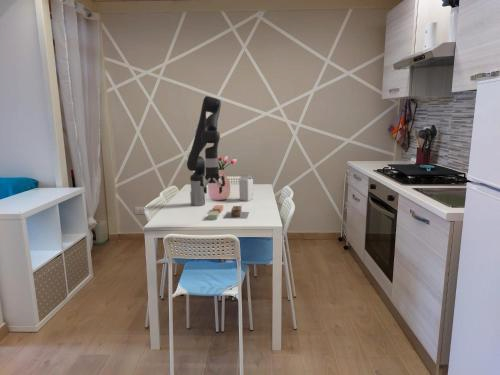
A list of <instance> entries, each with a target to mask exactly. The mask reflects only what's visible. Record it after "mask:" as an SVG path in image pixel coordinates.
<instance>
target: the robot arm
mask: <svg viewBox="0 0 500 375" xmlns="http://www.w3.org/2000/svg"><path fill="white" fill-rule="evenodd" d="M221 106H222V102H221V100H220V99H219V98H217V97H212V96H208V95H205V96H204V98H203V100H202V106H201V111H200V114H199V120H198V123H197V128H196V131H195V135H194V137H193V138H194V139H193V143H192V147H191V150H190V152H189V155H188V158H187V161H186V168H187V169H188V170H189V171H191V172H193V174H192V175H190V178H189V179H190V192H189V193H190V197H189V198H190V205H191V206H195V207H199V206H205V205H206V194H207V193H208V188H207V186H208V184H216V185H217V186H218V189H219V190H218V191H219V192H218V194H222V192H223V188H224V187H225V186H226V181H225V177H226V176H225V175H220V171H219V170H220V169H219V156H218V149H219V143H220V137H221V135H220V132H219V131H217V130H218V121H219V117H220V112H221ZM207 112H208V113H211V114H210V115H208V117H207V115H206V113H207ZM207 144H213V145H212V146H210V147H206V146H207ZM205 147H206V148H205ZM204 148H205V149H204ZM203 150H204V156H205V157H204V158H205V159H204V158H203V157H202V156H201V155H200V154H201V152H202V151H203ZM219 179H220V180H221V181H220V180H219ZM205 180H206V181H205Z"/></svg>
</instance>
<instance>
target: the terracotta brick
mask: <svg viewBox="0 0 500 375" xmlns="http://www.w3.org/2000/svg"><path fill="white" fill-rule="evenodd" d="M211 211H219V214H221V213H222V212H223V211H224V205H222V204H216V205H214V206H213V208H212V209H211Z"/></svg>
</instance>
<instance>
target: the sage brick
mask: <svg viewBox="0 0 500 375" xmlns="http://www.w3.org/2000/svg"><path fill="white" fill-rule="evenodd" d="M219 214H220V213H219V211H212V210H211V211H209V213H208V214H207V220H208V221H210V220H211V221H217V220H218V218H219V217H220V215H219Z"/></svg>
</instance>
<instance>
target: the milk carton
mask: <svg viewBox="0 0 500 375" xmlns="http://www.w3.org/2000/svg"><path fill="white" fill-rule="evenodd" d="M238 182H239V185H238V186H239V201H243V202H244V201H246V202H250V201H251V200H254V179H253V177H252V175H251V174H250V173H241V175H240V178H239V180H238Z"/></svg>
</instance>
